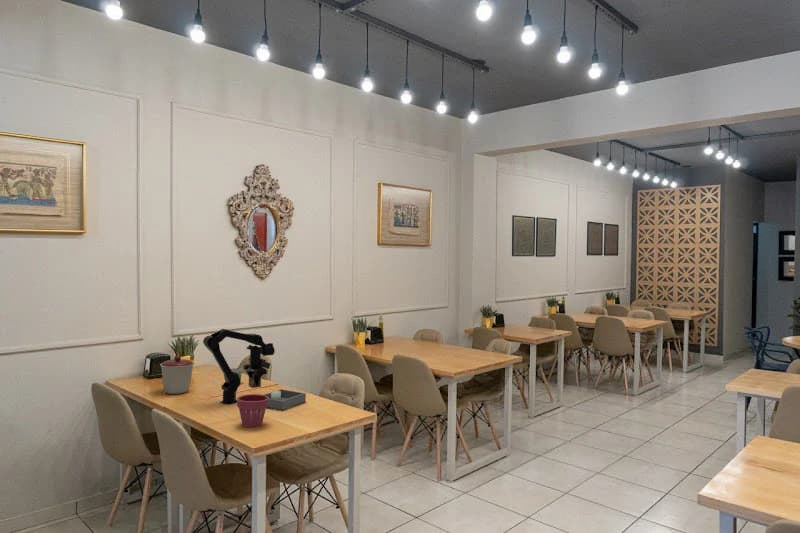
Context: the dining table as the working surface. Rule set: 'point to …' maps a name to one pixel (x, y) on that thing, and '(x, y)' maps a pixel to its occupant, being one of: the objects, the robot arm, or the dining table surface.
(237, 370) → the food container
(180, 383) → the canister
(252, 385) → the walnut cube
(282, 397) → the tote
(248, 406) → the plant pot
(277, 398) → the sage cylinder
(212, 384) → the dining table surface
